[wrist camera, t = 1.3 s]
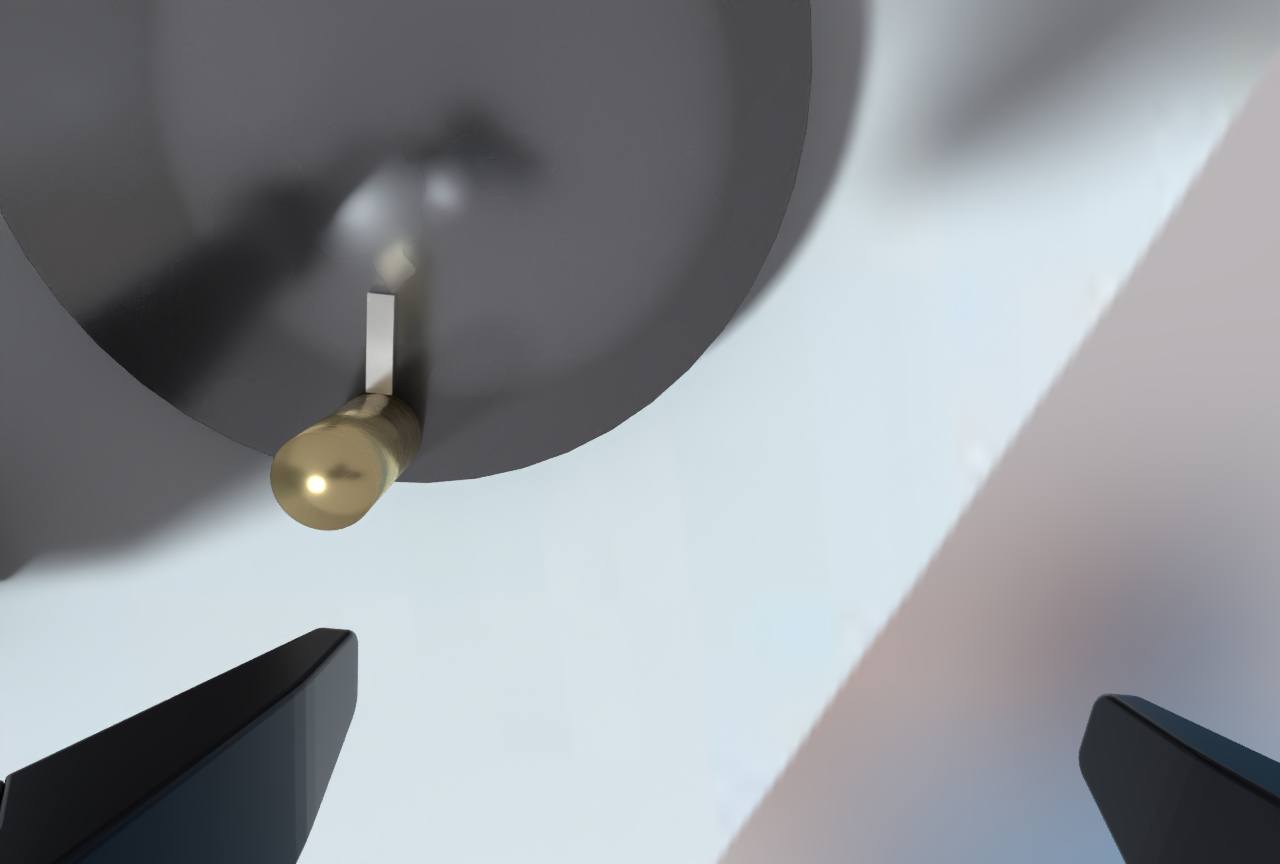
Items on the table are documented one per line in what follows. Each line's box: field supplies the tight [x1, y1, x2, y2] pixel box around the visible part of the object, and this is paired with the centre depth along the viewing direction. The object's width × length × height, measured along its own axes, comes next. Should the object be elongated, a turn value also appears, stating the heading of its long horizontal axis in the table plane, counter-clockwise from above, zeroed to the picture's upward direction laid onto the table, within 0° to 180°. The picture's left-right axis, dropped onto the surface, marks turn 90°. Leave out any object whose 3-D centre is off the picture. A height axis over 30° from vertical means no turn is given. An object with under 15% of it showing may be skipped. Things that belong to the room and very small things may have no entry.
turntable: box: [0, 0, 812, 530], centre depth 15 cm, size 18×18×4 cm
